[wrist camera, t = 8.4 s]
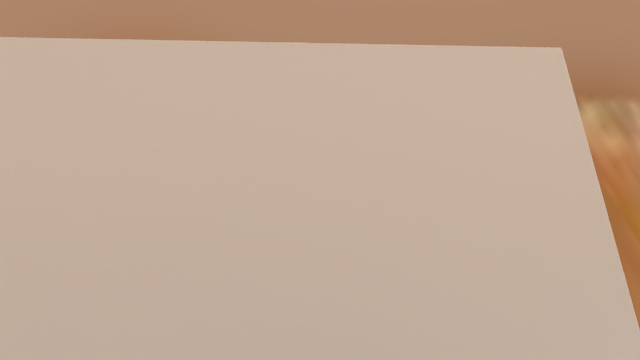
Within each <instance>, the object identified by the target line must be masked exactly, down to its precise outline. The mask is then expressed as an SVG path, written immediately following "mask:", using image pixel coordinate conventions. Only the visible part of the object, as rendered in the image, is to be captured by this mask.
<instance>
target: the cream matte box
mask: <svg viewBox="0 0 640 360" xmlns="http://www.w3.org/2000/svg"><path fill="white" fill-rule="evenodd" d="M0 360H640V330H639V326H638V322H637V319H636V315H635V312H634V308H633V304H632V301H631V297H630V294H629V290H628V286H627V283H626V279H625V276H624V272H623V268H622V265H621V261H620V257H619V254H618V250H617V247H616V243H615V239H614V236H613V232H612V229H611V225H610V221H609V218H608V214H607V211H606V207H605V203H604V200H603V196H602V193H601V189H600V185H599V182H598V178H597V174H596V171H595V167H594V164H593V160H592V156H591V153H590V149H589V146H588V142H587V138H586V135H585V131H584V128H583V124H582V120H581V117H580V113H579V110H578V106H577V102H576V99H575V95H574V92H573V88H572V85H571V81H570V77H569V73H568V70H567V67H566V63H565V59H564V56H563V52H562V48H545V47H543V48H542V47H490V46H438V45H437V46H435V45H385V44H384V45H383V44H333V43H280V42H227V41H226V42H225V41H222V42H221V41H172V40H171V41H170V40H121V39H67V38H66V39H65V38H15V37H14V38H12V37H11V38H10V37H0Z"/></svg>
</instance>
